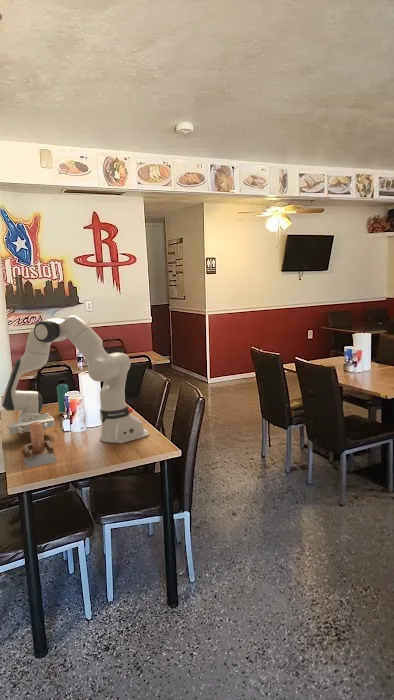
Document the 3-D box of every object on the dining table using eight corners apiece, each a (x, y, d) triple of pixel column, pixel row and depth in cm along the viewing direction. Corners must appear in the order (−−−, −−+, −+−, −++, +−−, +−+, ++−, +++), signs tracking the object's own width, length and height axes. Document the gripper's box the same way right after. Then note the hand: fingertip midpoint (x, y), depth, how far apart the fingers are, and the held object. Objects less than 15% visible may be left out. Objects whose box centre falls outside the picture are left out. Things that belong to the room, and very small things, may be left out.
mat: (52, 453, 197) (52, 452, 197) (57, 462, 187) (57, 461, 187) (23, 459, 192) (22, 458, 192) (26, 469, 181) (26, 467, 181)
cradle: (49, 445, 208) (49, 440, 207) (53, 453, 198) (53, 447, 198) (23, 450, 203) (23, 445, 203) (26, 458, 193) (26, 452, 193)
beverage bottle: (67, 415, 257) (64, 380, 254) (56, 415, 258) (53, 380, 255) (73, 412, 263) (69, 377, 260) (62, 412, 265) (59, 377, 262)
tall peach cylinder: (43, 447, 204) (41, 421, 202) (46, 453, 197) (43, 425, 195) (31, 449, 202) (29, 423, 200) (34, 455, 194) (31, 427, 193)
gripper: (6, 419, 216) (8, 427, 204) (51, 412, 225) (56, 419, 213) (7, 432, 217) (10, 440, 205) (52, 424, 226) (57, 432, 214)
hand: (34, 429), depth 209 cm, fingers open, 8 cm apart
